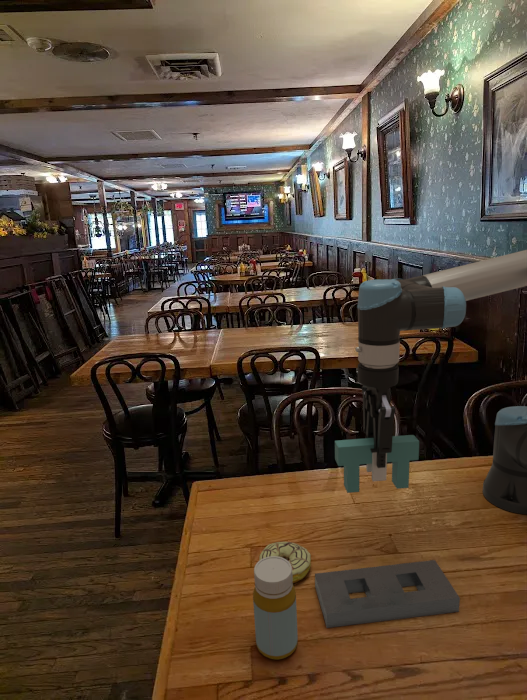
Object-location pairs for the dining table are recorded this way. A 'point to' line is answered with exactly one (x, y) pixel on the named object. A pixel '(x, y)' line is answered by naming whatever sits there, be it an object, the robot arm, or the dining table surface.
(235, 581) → the dining table surface
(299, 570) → the decorated donut
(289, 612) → the bottle
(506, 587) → the dining table surface
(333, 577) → the slotted metal plate
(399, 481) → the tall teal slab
